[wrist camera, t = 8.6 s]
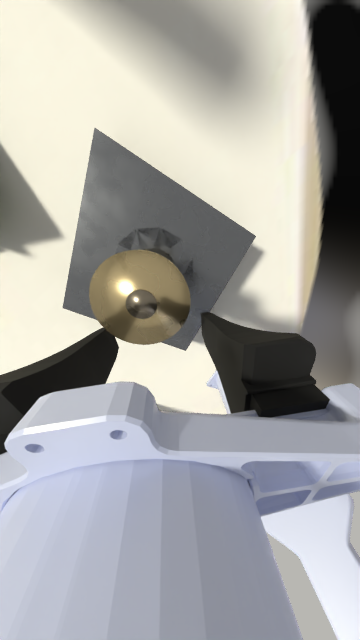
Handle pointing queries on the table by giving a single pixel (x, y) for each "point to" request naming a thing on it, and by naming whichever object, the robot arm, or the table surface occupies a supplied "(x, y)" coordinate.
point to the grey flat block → (151, 231)
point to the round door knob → (139, 297)
